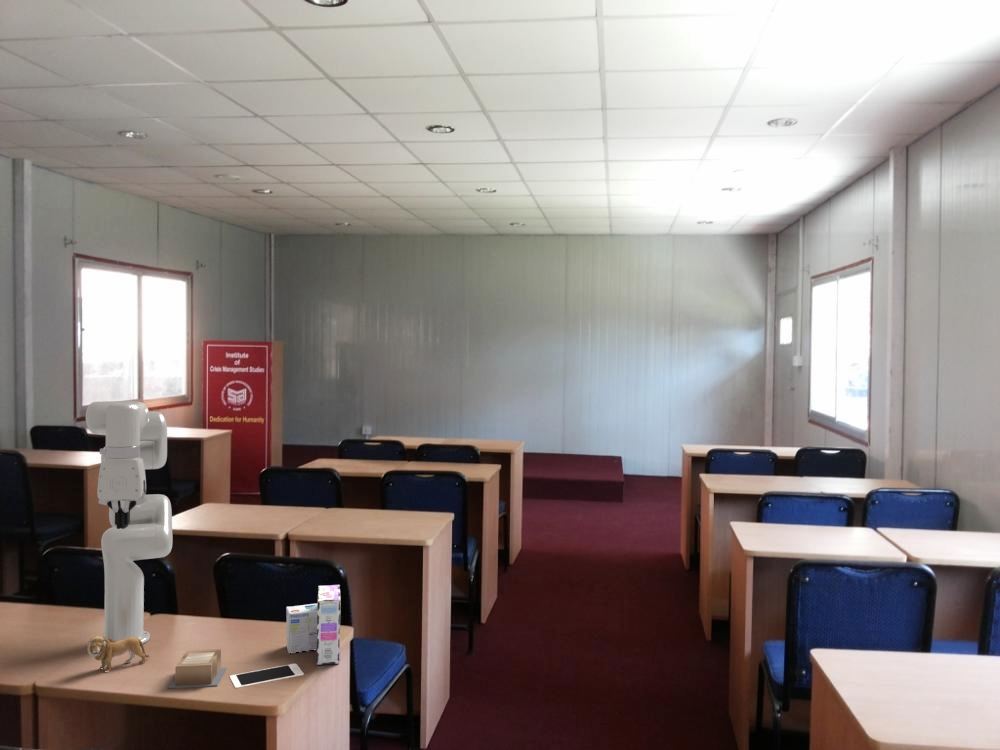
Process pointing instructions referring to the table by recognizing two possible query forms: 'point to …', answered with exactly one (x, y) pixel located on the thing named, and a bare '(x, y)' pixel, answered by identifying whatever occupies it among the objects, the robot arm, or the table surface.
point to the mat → (214, 683)
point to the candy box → (328, 625)
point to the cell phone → (266, 675)
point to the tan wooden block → (198, 667)
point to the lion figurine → (115, 649)
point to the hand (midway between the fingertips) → (122, 527)
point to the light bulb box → (301, 628)
